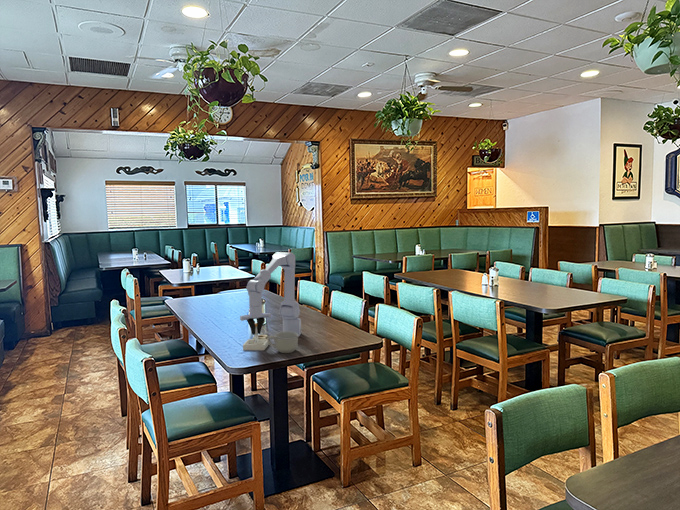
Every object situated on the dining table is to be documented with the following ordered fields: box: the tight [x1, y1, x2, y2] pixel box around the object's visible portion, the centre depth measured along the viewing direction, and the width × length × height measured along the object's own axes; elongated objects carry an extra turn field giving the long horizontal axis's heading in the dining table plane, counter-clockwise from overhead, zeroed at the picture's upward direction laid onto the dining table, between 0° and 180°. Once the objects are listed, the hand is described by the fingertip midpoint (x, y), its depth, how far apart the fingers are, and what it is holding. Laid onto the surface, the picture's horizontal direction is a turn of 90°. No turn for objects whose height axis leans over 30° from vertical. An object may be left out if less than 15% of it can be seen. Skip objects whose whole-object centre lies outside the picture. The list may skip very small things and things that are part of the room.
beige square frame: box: [252, 334, 269, 339], centre depth 229 cm, size 6×6×3 cm
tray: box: [242, 338, 270, 351], centre depth 221 cm, size 10×10×2 cm
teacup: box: [267, 331, 299, 354], centre depth 214 cm, size 14×11×8 cm
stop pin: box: [253, 322, 259, 343], centre depth 221 cm, size 2×2×9 cm
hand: (256, 333), depth 221 cm, fingers closed on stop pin, 2 cm apart
